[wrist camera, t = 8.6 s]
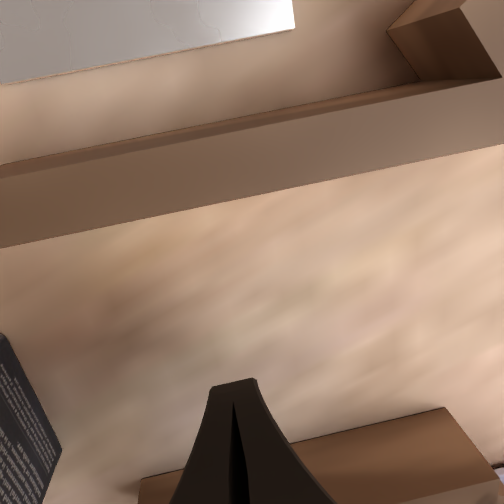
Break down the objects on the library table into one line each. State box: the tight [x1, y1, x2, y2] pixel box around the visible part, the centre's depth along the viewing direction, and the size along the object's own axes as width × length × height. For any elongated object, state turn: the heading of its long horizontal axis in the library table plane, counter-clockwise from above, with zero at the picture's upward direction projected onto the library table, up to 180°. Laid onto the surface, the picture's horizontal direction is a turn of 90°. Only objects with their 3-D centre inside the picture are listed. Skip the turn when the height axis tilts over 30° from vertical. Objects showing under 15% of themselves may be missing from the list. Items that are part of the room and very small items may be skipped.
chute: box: [0, 0, 504, 504], centre depth 13 cm, size 20×15×4 cm
